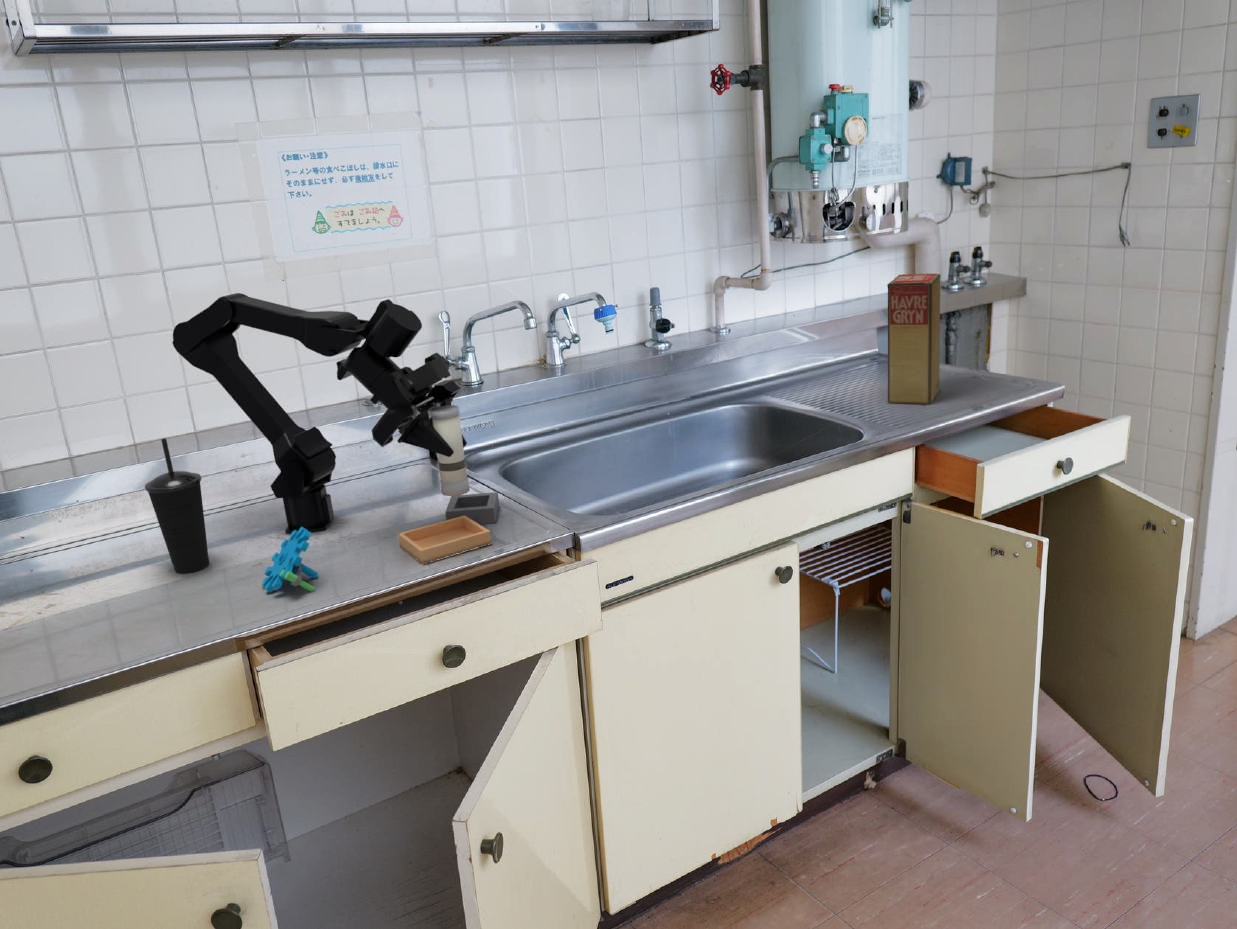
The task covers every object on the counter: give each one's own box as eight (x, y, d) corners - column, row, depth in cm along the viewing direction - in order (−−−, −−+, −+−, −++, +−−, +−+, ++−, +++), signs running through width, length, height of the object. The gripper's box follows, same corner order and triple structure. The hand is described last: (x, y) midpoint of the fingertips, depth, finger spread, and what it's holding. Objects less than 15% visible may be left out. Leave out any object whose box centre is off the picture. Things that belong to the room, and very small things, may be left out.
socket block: (447, 526, 157) (445, 511, 156) (453, 510, 164) (451, 495, 163) (495, 522, 157) (493, 507, 156) (499, 506, 164) (497, 492, 163)
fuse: (437, 496, 150) (425, 412, 146) (448, 486, 154) (437, 405, 150) (463, 496, 149) (452, 412, 145) (473, 486, 153) (463, 405, 149)
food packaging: (896, 388, 218) (897, 273, 211) (941, 389, 214) (944, 272, 207) (885, 403, 207) (886, 282, 199) (932, 405, 203) (934, 282, 195)
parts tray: (422, 565, 143) (420, 550, 142) (399, 547, 150) (397, 533, 149) (491, 544, 148) (489, 531, 147) (466, 528, 155) (464, 515, 155)
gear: (258, 564, 143) (301, 513, 142) (293, 583, 146) (335, 533, 145) (257, 604, 134) (303, 549, 132) (295, 624, 136) (340, 570, 135)
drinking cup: (185, 581, 144) (155, 449, 138) (153, 572, 148) (123, 444, 142) (230, 561, 150) (203, 434, 144) (198, 553, 154) (171, 429, 148)
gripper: (378, 354, 137) (460, 432, 137) (441, 328, 154) (514, 398, 154) (338, 408, 142) (417, 484, 142) (403, 378, 159) (474, 445, 159)
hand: (458, 450), depth 149 cm, fingers closed on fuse, 4 cm apart
